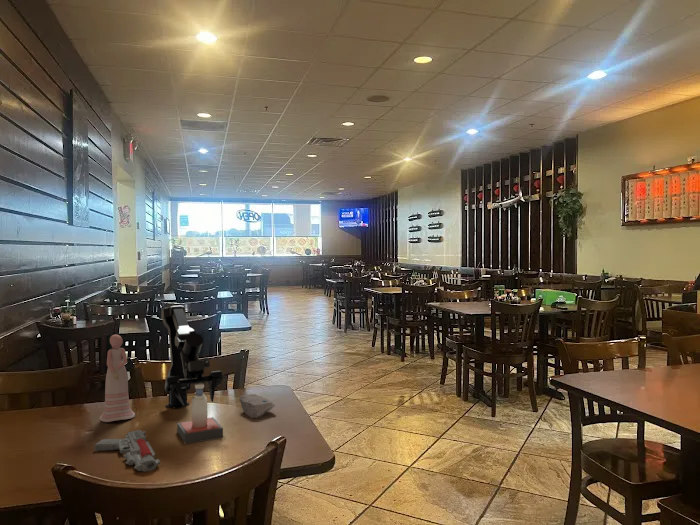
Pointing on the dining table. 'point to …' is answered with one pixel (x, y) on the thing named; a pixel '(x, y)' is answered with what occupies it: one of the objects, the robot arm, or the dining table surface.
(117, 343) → the figurine
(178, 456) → the dining table surface
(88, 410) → the dining table surface
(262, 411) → the stone
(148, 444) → the toy gun
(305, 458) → the dining table surface
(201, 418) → the white bottle
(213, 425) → the stand
